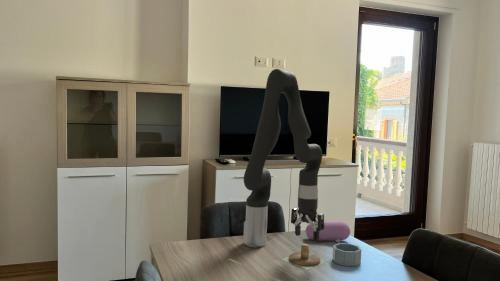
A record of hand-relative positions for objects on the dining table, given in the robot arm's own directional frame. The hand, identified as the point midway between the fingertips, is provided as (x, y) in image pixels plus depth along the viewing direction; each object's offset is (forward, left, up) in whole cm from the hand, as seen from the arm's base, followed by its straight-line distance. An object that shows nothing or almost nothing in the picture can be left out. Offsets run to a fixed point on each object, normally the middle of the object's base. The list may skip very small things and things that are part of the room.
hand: (306, 237), depth 157 cm
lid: (0, 0, -9) cm, 9 cm away
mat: (0, 0, -9) cm, 9 cm away
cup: (+11, +12, -9) cm, 18 cm away
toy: (-10, +29, -10) cm, 32 cm away
